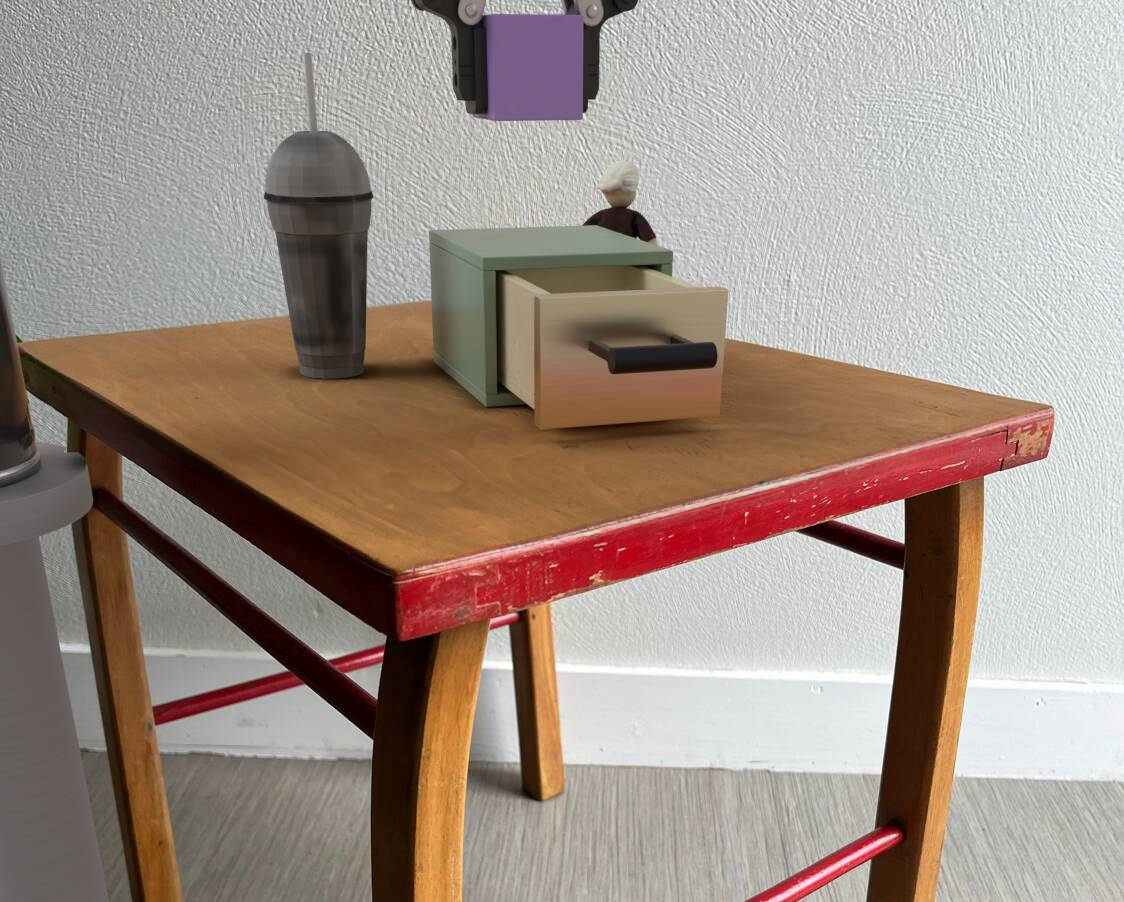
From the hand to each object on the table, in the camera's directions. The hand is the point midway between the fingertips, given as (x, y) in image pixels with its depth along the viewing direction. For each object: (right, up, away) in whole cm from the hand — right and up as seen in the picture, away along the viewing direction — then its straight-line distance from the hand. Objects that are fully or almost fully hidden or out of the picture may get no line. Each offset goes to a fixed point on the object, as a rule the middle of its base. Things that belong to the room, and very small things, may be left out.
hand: (526, 111), depth 64 cm
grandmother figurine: (+6, +4, +45) cm, 45 cm away
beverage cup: (-15, -5, +27) cm, 31 cm away
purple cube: (0, 0, 0) cm, 0 cm away
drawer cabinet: (+1, -6, +26) cm, 27 cm away
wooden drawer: (+5, -11, +15) cm, 19 cm away
